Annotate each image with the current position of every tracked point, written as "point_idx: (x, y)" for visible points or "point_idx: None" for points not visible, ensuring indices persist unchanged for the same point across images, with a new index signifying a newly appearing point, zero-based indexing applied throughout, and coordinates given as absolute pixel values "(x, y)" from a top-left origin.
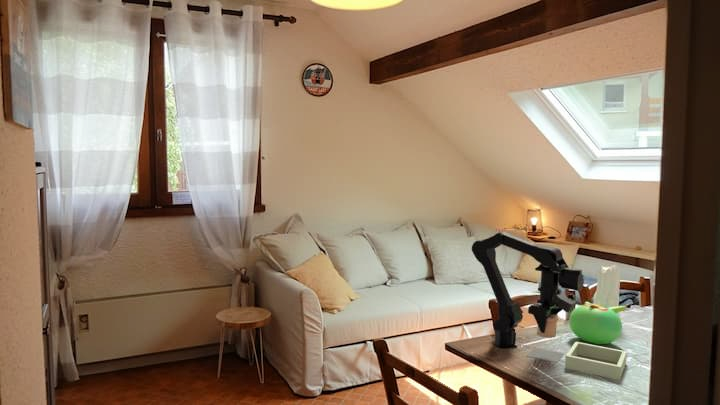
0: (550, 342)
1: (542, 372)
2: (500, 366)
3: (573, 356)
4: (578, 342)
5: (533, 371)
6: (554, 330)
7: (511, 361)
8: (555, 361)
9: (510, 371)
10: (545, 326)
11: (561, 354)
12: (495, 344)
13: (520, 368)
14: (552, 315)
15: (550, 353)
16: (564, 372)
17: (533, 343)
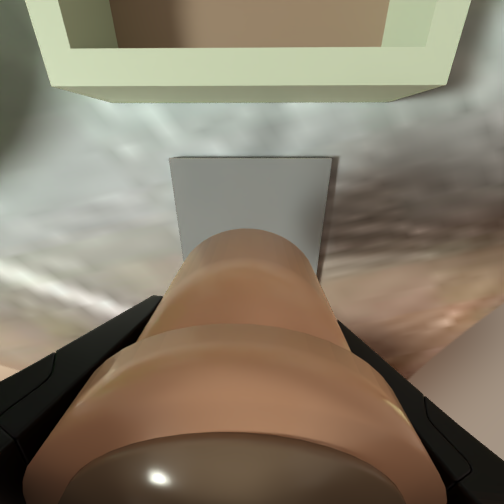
0: (49, 252)
1: (467, 195)
2: (445, 335)
3: (447, 9)
4: (51, 54)
5: (465, 231)
6: (281, 262)
7: (379, 320)
8: (319, 171)
9: (488, 300)
10: (381, 368)
11: (195, 166)
12: None
13: (444, 280)
14: (214, 494)
15: (219, 218)
16: (435, 93)
17: (126, 304)
